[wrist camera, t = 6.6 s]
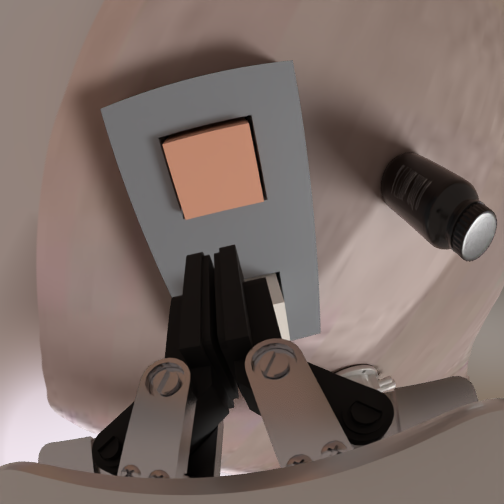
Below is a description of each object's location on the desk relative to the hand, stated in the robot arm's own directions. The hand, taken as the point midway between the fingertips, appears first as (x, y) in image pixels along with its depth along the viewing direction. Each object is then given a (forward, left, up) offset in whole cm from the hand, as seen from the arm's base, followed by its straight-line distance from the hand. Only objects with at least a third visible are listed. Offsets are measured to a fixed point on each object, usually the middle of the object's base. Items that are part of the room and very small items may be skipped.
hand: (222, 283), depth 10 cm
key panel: (0, +7, -17) cm, 18 cm away
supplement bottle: (-19, +6, -17) cm, 26 cm away
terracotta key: (0, 0, -17) cm, 17 cm away
